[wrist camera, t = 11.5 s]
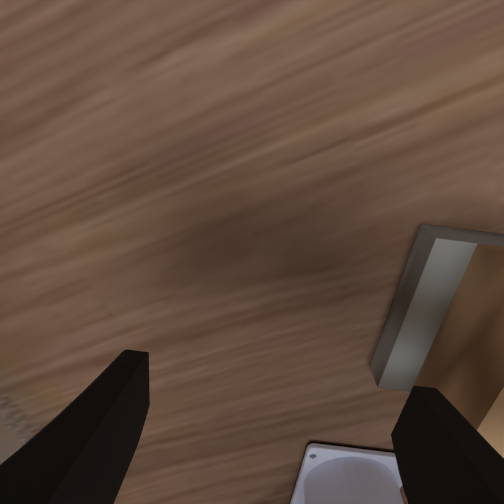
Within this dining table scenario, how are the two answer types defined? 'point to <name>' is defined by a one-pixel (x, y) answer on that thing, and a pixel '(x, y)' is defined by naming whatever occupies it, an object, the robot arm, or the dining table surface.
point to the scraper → (450, 326)
